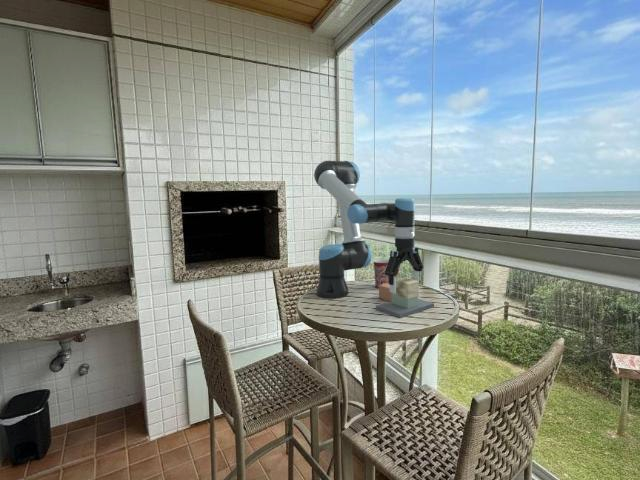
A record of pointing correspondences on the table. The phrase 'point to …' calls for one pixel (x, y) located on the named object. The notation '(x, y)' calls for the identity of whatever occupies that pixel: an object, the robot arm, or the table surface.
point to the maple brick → (406, 288)
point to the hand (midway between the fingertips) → (404, 289)
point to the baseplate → (399, 309)
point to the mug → (381, 272)
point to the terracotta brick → (385, 292)
